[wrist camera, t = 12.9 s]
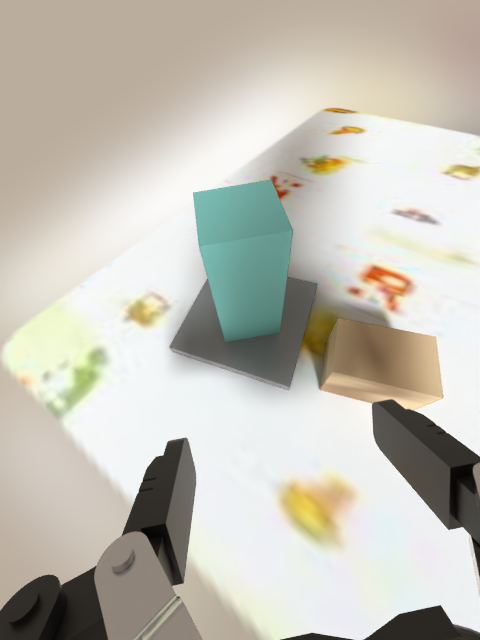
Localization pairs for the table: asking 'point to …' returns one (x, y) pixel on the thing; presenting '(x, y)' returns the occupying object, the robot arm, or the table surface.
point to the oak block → (381, 365)
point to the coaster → (251, 353)
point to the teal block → (245, 256)
